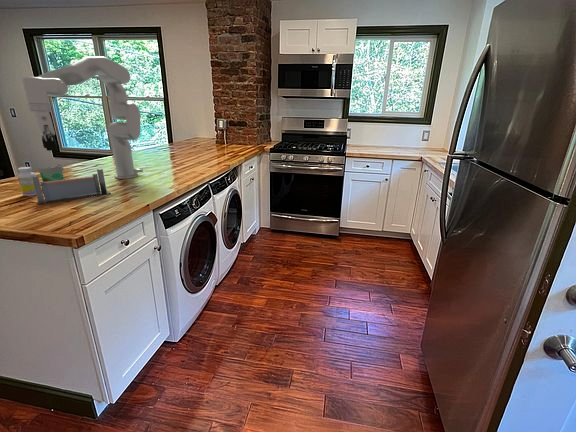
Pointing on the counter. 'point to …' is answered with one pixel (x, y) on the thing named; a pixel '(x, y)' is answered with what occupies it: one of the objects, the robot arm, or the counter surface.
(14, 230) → the counter surface
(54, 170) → the food container
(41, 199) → the gate frame
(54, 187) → the gate
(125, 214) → the counter surface
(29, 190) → the supplement bottle
